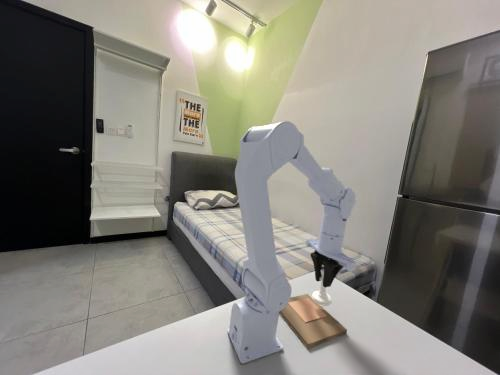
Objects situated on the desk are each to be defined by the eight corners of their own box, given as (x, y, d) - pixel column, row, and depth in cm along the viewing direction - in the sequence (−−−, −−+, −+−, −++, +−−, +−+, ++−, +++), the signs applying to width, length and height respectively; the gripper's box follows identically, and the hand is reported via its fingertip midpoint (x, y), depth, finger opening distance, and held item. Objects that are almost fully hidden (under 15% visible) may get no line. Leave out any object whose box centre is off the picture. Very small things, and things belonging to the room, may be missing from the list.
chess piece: (327, 308, 49) (331, 271, 48) (308, 299, 53) (312, 263, 51) (334, 299, 53) (338, 263, 52) (316, 290, 56) (320, 257, 55)
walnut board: (307, 348, 42) (308, 343, 42) (272, 304, 54) (273, 300, 54) (346, 333, 47) (347, 329, 47) (306, 297, 59) (307, 293, 59)
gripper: (369, 243, 46) (358, 298, 47) (321, 223, 59) (314, 267, 60) (348, 245, 43) (337, 303, 44) (303, 224, 56) (296, 270, 57)
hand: (322, 283), depth 52 cm, fingers closed on chess piece
